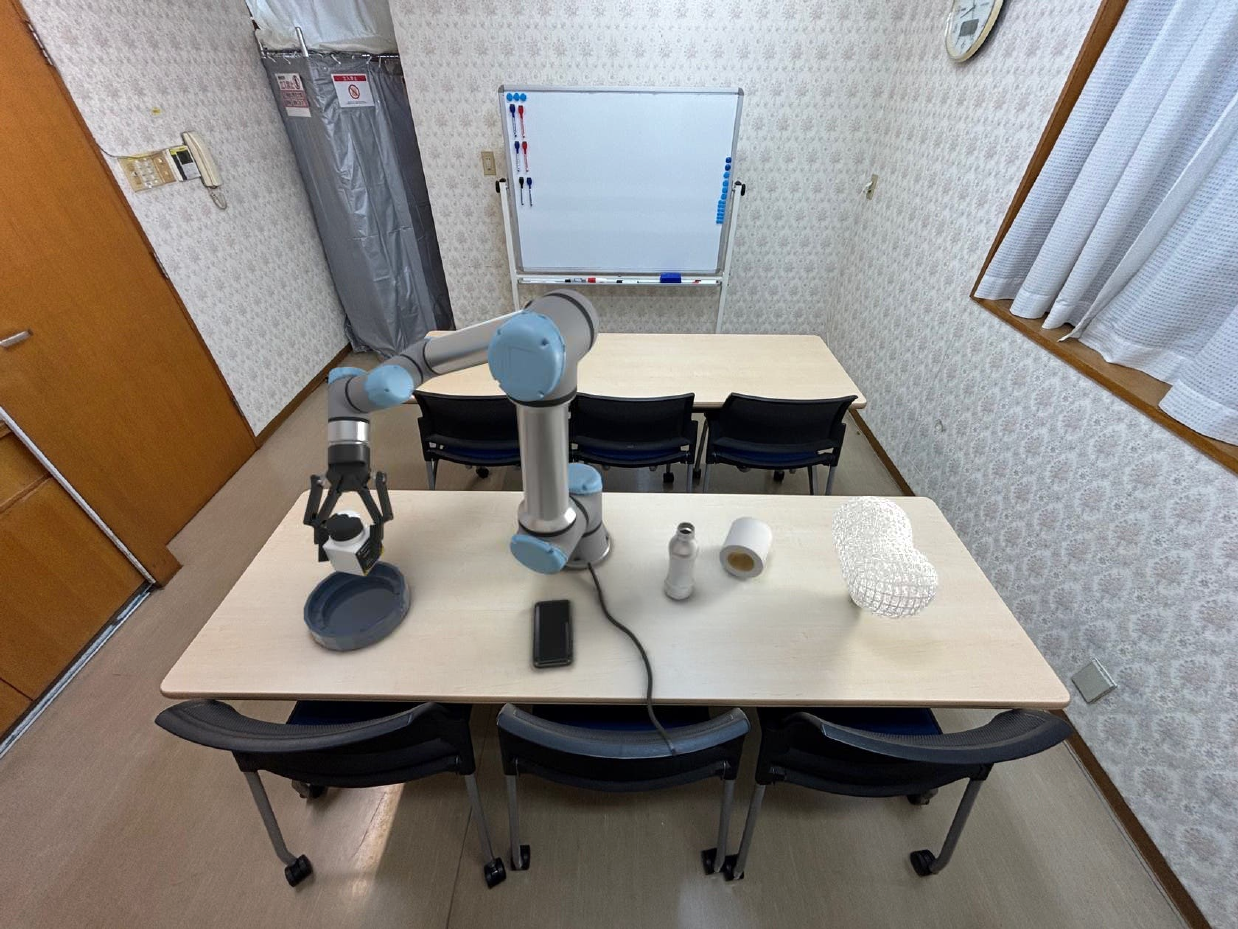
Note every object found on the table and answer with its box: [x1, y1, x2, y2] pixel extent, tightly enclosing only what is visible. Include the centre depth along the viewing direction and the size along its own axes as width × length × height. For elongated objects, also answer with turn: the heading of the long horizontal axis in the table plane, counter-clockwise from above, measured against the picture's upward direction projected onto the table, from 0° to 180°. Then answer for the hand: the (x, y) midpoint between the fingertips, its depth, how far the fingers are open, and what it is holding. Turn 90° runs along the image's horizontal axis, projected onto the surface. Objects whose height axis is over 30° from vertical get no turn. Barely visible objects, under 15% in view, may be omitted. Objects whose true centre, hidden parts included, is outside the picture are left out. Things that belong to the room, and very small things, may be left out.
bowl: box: [303, 560, 411, 651], centre depth 108 cm, size 20×20×5 cm
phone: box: [532, 599, 574, 669], centre depth 105 cm, size 8×1×15 cm
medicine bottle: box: [323, 509, 386, 576], centre depth 100 cm, size 7×7×12 cm
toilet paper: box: [718, 516, 773, 579], centre depth 118 cm, size 10×10×10 cm
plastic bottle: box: [664, 521, 700, 600], centre depth 108 cm, size 6×7×20 cm
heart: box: [831, 495, 939, 620], centre depth 106 cm, size 28×16×22 cm, turn 175°
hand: (349, 559), depth 99 cm, fingers closed on medicine bottle, 9 cm apart
